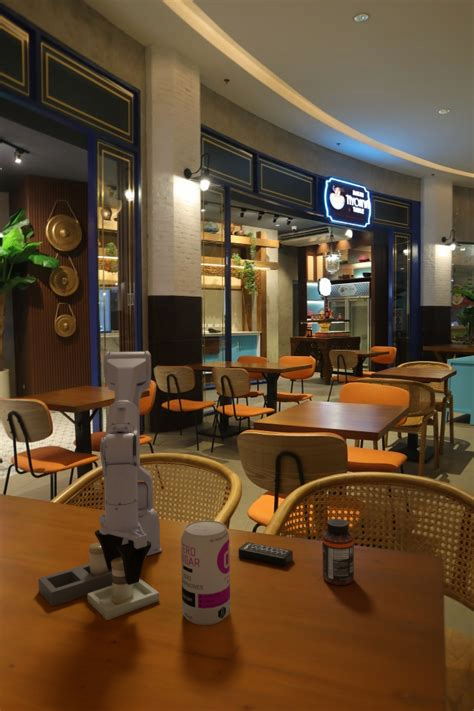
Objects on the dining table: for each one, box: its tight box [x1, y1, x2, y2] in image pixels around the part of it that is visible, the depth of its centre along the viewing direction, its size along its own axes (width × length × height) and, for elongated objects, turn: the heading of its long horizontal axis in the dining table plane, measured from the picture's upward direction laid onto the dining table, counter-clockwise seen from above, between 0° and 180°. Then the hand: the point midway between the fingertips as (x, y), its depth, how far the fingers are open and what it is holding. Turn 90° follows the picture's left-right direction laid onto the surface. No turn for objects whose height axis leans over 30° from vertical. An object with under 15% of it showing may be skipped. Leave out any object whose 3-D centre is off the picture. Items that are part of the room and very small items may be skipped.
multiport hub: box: [238, 541, 294, 569], centre depth 113 cm, size 4×11×2 cm, turn 62°
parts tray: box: [87, 578, 160, 621], centre depth 96 cm, size 10×8×2 cm
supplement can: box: [180, 519, 231, 626], centre depth 91 cm, size 8×8×15 cm
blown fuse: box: [111, 557, 134, 605], centre depth 95 cm, size 4×4×7 cm
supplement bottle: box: [321, 518, 355, 586], centre depth 103 cm, size 6×6×11 cm
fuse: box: [88, 541, 109, 576], centre depth 103 cm, size 4×4×7 cm
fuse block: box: [38, 562, 112, 607], centre depth 101 cm, size 14×7×2 cm, turn 129°
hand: (122, 575), depth 96 cm, fingers open, 7 cm apart
